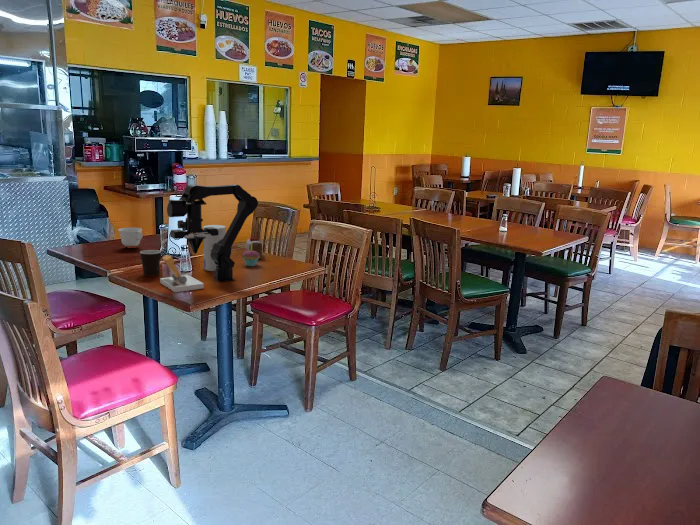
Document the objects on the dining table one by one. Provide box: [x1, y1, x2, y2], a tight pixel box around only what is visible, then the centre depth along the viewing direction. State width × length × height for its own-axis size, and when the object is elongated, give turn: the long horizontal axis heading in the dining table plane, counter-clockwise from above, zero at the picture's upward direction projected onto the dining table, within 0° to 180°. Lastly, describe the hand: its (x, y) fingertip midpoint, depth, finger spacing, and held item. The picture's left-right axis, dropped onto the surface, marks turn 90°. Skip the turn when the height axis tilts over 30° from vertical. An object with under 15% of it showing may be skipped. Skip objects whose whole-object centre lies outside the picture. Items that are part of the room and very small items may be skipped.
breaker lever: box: [161, 254, 182, 280], centre depth 225 cm, size 2×5×11 cm, turn 38°
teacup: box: [117, 227, 144, 247], centre depth 293 cm, size 12×15×10 cm
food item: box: [245, 236, 263, 259], centre depth 288 cm, size 14×8×10 cm, turn 20°
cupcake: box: [241, 243, 261, 267], centre depth 267 cm, size 9×8×12 cm
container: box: [202, 224, 227, 272], centre depth 256 cm, size 10×10×20 cm
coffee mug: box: [139, 249, 162, 277], centre depth 245 cm, size 12×9×10 cm
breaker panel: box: [159, 273, 205, 293], centre depth 228 cm, size 12×16×5 cm
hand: (195, 253), depth 229 cm, fingers closed
